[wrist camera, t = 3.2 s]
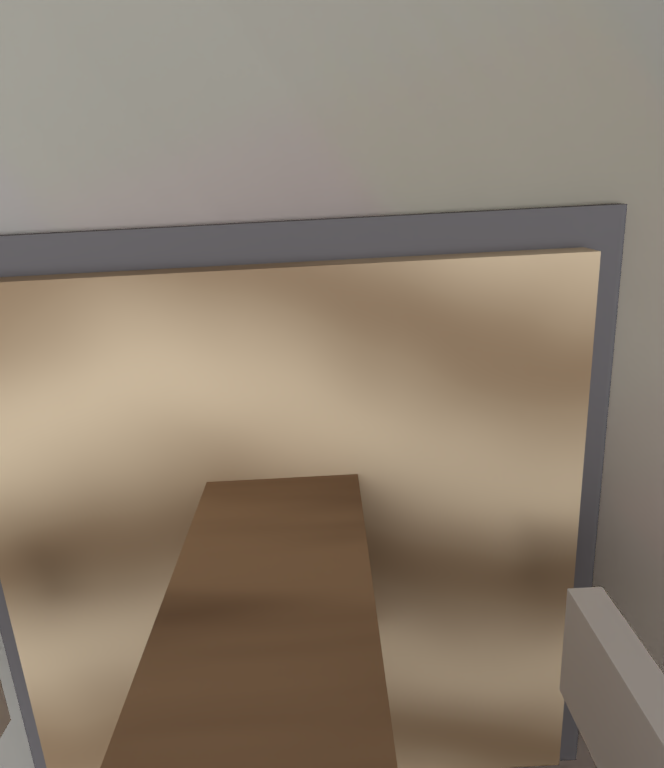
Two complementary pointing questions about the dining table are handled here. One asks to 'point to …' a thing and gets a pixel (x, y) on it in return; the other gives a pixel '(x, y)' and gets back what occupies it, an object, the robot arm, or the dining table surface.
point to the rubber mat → (356, 241)
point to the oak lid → (296, 508)
